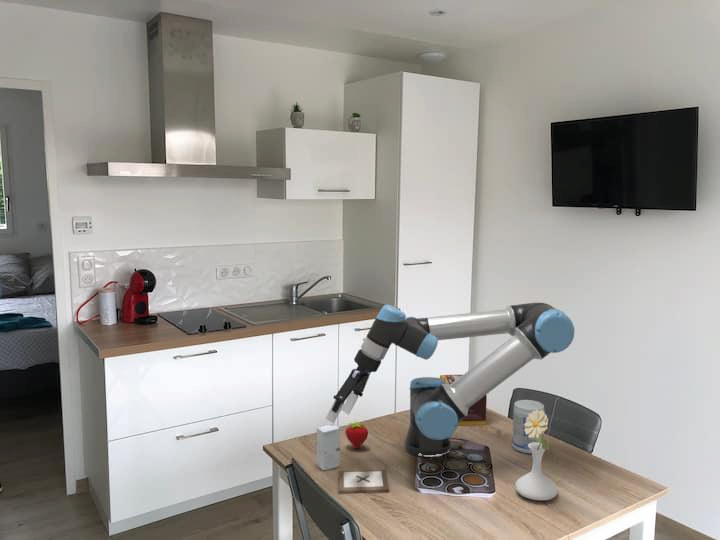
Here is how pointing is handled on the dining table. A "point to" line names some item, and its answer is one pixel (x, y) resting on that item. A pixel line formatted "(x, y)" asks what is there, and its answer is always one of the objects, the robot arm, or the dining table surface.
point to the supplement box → (475, 411)
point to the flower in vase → (536, 461)
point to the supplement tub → (519, 419)
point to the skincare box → (328, 447)
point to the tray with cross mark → (363, 481)
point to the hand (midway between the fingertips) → (337, 416)
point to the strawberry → (356, 434)
